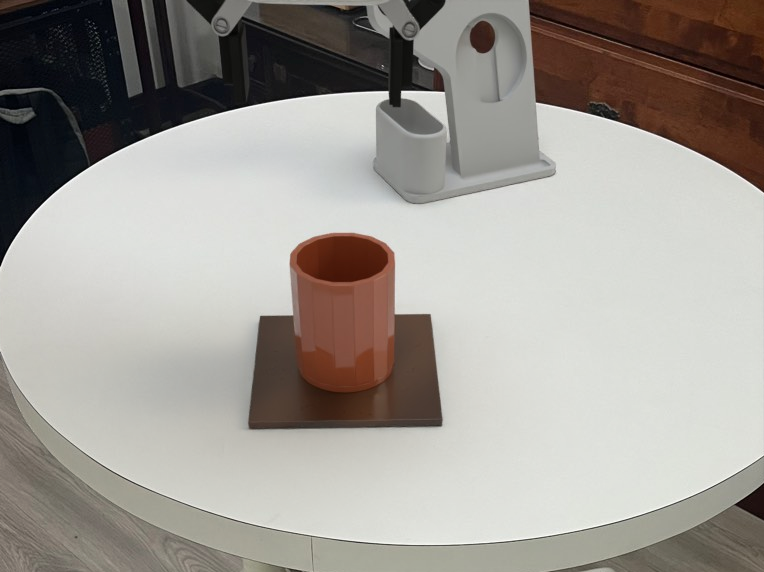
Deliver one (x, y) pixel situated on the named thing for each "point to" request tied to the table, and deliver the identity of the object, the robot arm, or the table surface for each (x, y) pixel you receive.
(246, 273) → the table surface
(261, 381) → the coaster
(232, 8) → the robot arm
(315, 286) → the cup
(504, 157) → the phone holder
